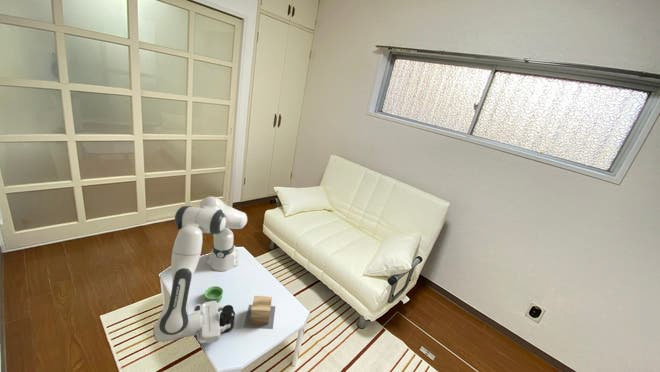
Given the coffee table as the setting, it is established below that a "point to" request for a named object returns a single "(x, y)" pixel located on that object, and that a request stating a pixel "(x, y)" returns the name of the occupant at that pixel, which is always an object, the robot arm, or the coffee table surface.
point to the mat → (264, 326)
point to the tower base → (259, 320)
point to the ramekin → (213, 294)
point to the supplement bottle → (227, 317)
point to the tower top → (261, 306)
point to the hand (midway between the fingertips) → (229, 316)
